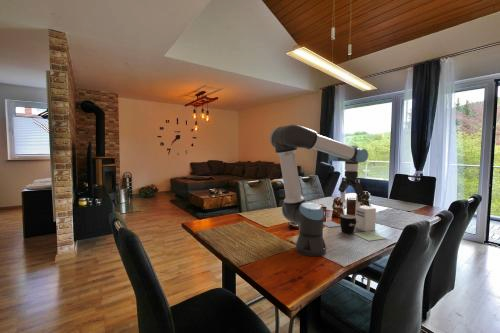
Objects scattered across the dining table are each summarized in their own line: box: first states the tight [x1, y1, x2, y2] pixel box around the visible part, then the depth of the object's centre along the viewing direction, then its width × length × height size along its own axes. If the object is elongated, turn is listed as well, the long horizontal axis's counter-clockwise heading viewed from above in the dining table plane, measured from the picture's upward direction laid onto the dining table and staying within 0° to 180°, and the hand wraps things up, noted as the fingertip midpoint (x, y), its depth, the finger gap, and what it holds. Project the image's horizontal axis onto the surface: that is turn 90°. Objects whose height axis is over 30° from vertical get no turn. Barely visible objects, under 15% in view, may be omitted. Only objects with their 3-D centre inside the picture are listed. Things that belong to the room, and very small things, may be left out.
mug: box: [339, 214, 356, 235], centre depth 148 cm, size 12×9×10 cm
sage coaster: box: [353, 231, 386, 242], centre depth 140 cm, size 12×12×1 cm
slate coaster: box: [323, 220, 341, 228], centre depth 163 cm, size 10×10×1 cm
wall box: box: [354, 205, 377, 232], centre depth 155 cm, size 9×9×14 cm
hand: (350, 204), depth 147 cm, fingers open, 13 cm apart
